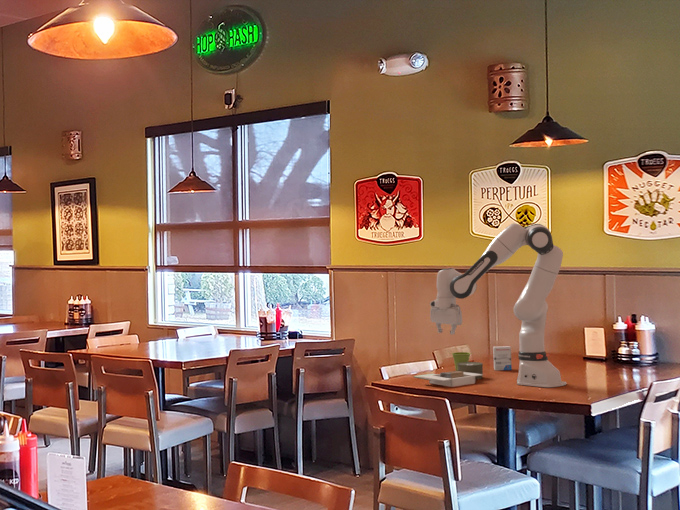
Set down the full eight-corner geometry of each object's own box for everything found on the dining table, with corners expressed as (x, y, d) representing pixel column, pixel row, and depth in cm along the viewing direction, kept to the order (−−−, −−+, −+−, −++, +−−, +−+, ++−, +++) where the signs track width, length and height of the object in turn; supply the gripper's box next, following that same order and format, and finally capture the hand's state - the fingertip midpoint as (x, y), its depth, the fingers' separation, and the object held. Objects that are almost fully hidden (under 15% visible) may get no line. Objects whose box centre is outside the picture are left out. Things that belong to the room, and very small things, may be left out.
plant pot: (465, 372, 402) (465, 354, 402) (448, 370, 408) (448, 353, 408) (474, 369, 410) (473, 352, 410) (457, 368, 416) (457, 351, 416)
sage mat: (448, 377, 386) (448, 376, 386) (430, 380, 379) (430, 378, 379) (432, 374, 396) (431, 373, 396) (413, 377, 389) (413, 376, 389)
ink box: (510, 369, 410) (510, 345, 410) (511, 370, 405) (511, 346, 405) (493, 369, 411) (493, 346, 411) (494, 370, 406) (493, 347, 406)
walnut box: (463, 382, 369) (463, 371, 369) (447, 385, 364) (447, 373, 364) (456, 381, 373) (456, 370, 373) (440, 383, 367) (440, 372, 367)
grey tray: (483, 382, 370) (483, 374, 370) (443, 388, 355) (443, 380, 355) (460, 378, 382) (460, 371, 382) (421, 384, 367) (420, 376, 367)
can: (483, 376, 389) (483, 361, 389) (482, 379, 377) (482, 365, 377) (458, 375, 391) (458, 361, 391) (456, 379, 379) (456, 365, 379)
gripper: (465, 304, 363) (465, 335, 363) (438, 302, 381) (438, 331, 381) (454, 304, 360) (454, 335, 360) (427, 302, 378) (427, 332, 378)
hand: (446, 333), depth 371 cm, fingers open, 8 cm apart
